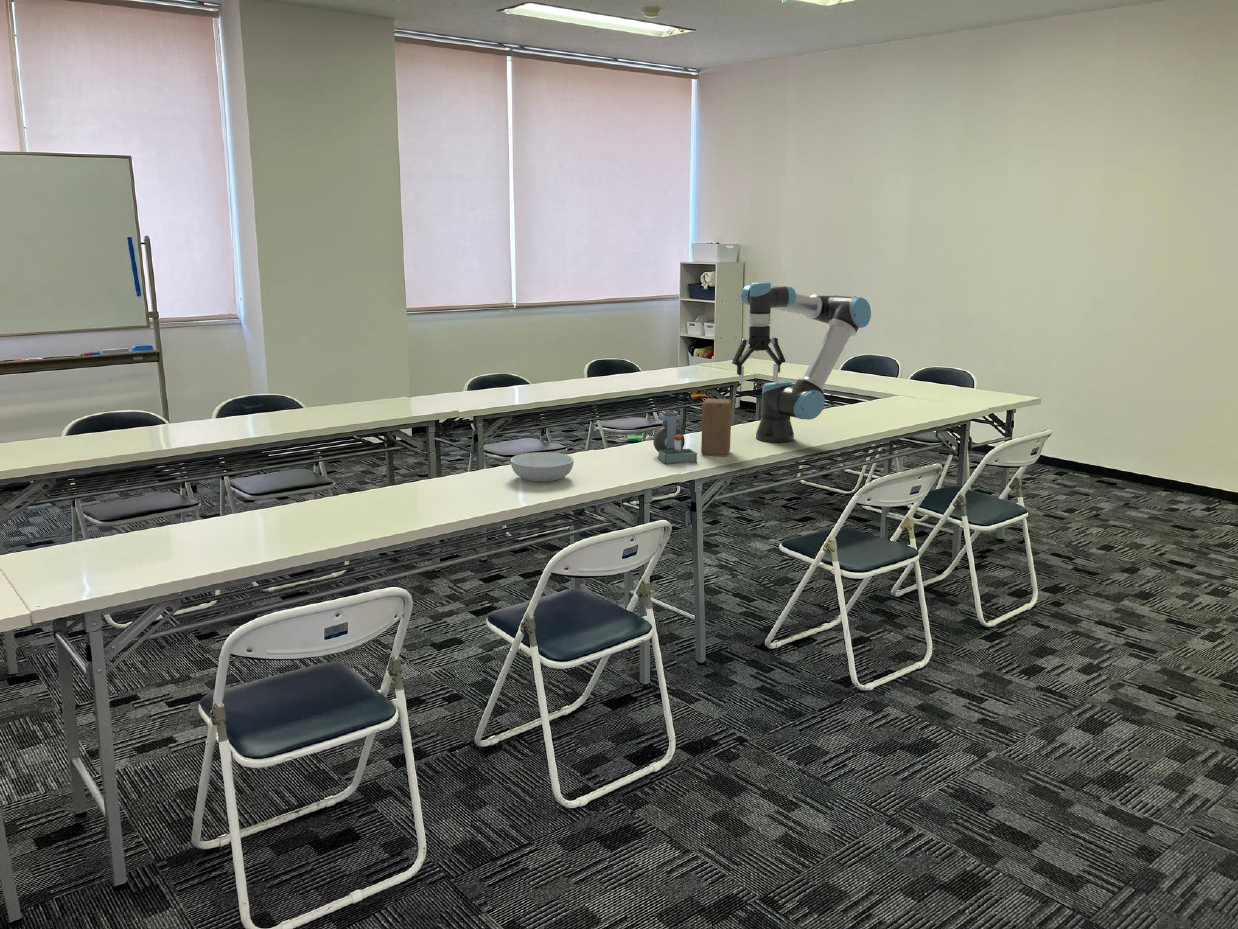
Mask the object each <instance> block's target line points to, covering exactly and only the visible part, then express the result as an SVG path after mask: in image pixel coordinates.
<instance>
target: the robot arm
mask: <svg viewBox="0 0 1238 929" xmlns="http://www.w3.org/2000/svg"><path fill="white" fill-rule="evenodd" d="M740 298H741V301H742V303H743V304H745V305H748V306H749V324H750V326H749V327H748V328H749V331H748V336H749V337H748V339H747V338H746V339H745V338H741V339H740V344H739V346H738V348H737V351H736V353H735V354H734V357H733V359H732V362H731V364H733V365H735V366H736V374H737V376H738V383H739V384H741V385H744V383H745V379H744V376H745V375H744V374H745V367H744V366H745V365H744V363H745V362H746V361H747V360H748V358H749V357H750V356H751V355H752V354H753V353H754V352H758V351H762V352H763V351H765V352H766V353H767V354H768V355H769V357H770V358H771V359H772V360H773V362H774V363H773V366H772V370H773V371H772V382H766V383H764V384H763V386H762V392H761V411H760V412H761V415H760V421H759V424H758V426H757V430H756V433H755V439H756V440H758V441H762V442H767V443H787V442H792V441H794V440H795V432H794V430H793V425H792V422H791V418H795V419H799V420H805V421H806V420H808V421H810V420H814V419H816V418H818V417H819V416H820V414H821V413H822V412H823V410H824V408H825V403H824V402H825V400H826V399H825V396H824V394H825V390H824V386H825V384H826V382H827V381H828V379H829V377H830V375H831V373H832V371H833V369H834V368H835V365H836V364H837V361H838V360H839V358H840V357H841V354H842V352H843V350H844V348H845V346H846V345H847V343H848V341H849V339H850V337H854V336H855V335H857V332H858V331H859V328H860V329H862V328H864V327H867V326H868V325H869V323H870V321H871V317H872V311H871V305H870V302H868V300H867V299H865V298H863V297H860V296H846V295H845V296H844V295H817V294H812V295H804V294H800V293H796V290H795V289H794V287H792V286H787V285H782V286H772V283H771V282H767V281H765V282H764V281H763V282H761V281H759V282H758V281H756V282H755V281H754V282H752V283H751V284H750V285H749V284H747V285H745V286H744V287H743V288H742V291H741V293H740ZM771 310H778V311H781V312H782V311H783V312H787V313H793V314H797V315H801V316H802V315H803V316H805V317H806V318H807V319H811V320H814V321H817V322H821V323H825V324H827V325H829V328H828V330H827V332H826V334H825V336H824V338H823V340H822V342H821V343H820V345H819V348H818V349H817V351H816V353H815V354H814V357H813V358H812V360H811V362H810V364H809V366H808V368H807V370H806V371H805V373H804V375H803V377H801V378H798V379H797V381H796V382H795V384H794V386H793V382H791V381H778V380H779V374H780V373H781V366H782V363H786V358H785V357H784V354H783V352H782V350H781V348H780V345H779V339H778V337H774V336H773V337H772V338H771V337H770V335H771V326H770V324H771V312H772V311H771ZM770 344H772V346H773V349H774V350H775V353H776V354H775V353H774V352H773V349H772V348H771V347H770V346H769V345H770ZM748 345H749V346H748ZM747 346H748V347H747ZM746 347H747V349H746ZM745 349H746V351H745ZM744 351H745V352H744ZM776 355H777V356H776ZM743 365H744V366H743Z"/></svg>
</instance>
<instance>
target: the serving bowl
mask: <svg viewBox="0 0 1238 929" xmlns="http://www.w3.org/2000/svg"><path fill="white" fill-rule="evenodd" d="M574 461H575V460H574V457H572V456H571V455H568V454H564V453H561V452H549V451H548V452H547V451H546V452H545V451H544V452H541V451H539V452H527V453H521V454H517V455H514V456H512V457H511V458H510V465H511V468H512V471H513V473H515V475H517V476H518V477H519V478H520V479H523V480H527V481H531V482H534V483H549V482H553V481H557V480H560V479H563V478H564V477H566V476H568V475H569V473H570V472H571V471H572V470H573V466H574Z"/></svg>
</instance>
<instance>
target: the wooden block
mask: <svg viewBox="0 0 1238 929" xmlns="http://www.w3.org/2000/svg"><path fill="white" fill-rule="evenodd" d="M732 403H733V402H732V400H731V399H722V398H705V400H704V401H703V403H702V409H701V410H702V411H701V444H700V445H701V448H700V449H701V450H700V451H701V452H700V453H701V455H702V456H710V457H713V456H715V457H728V455H729V453H730V450H731V433H732V432H731V431H732V430H731V428H732V405H733V404H732Z"/></svg>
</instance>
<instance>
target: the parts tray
mask: <svg viewBox="0 0 1238 929" xmlns="http://www.w3.org/2000/svg"><path fill="white" fill-rule="evenodd" d="M658 461H660V462H661V463H663V464H664V465H678V464H692V463H696V464H697V462H698V452H696V451H694V450H693V449H691V448H683V449H681V453H680V454H674V449H672V450H659V452H658Z"/></svg>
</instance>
